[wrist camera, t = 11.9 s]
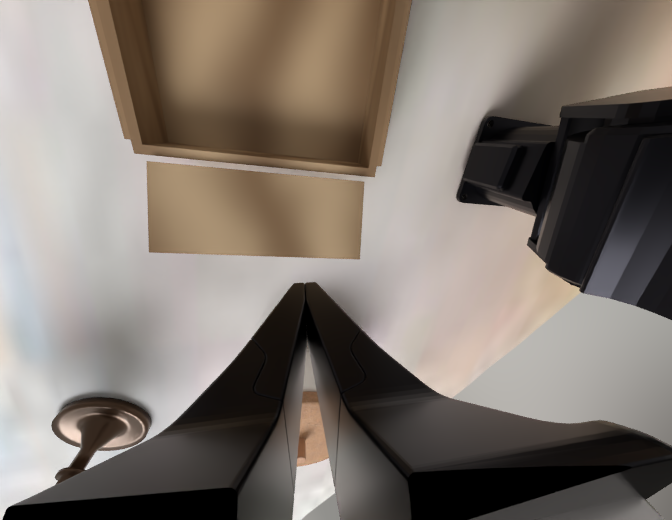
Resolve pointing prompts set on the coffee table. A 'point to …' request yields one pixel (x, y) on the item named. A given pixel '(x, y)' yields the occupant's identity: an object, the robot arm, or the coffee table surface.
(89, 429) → the candlestick
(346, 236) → the flap
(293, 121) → the carton
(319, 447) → the lidded jar
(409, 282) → the coffee table surface
